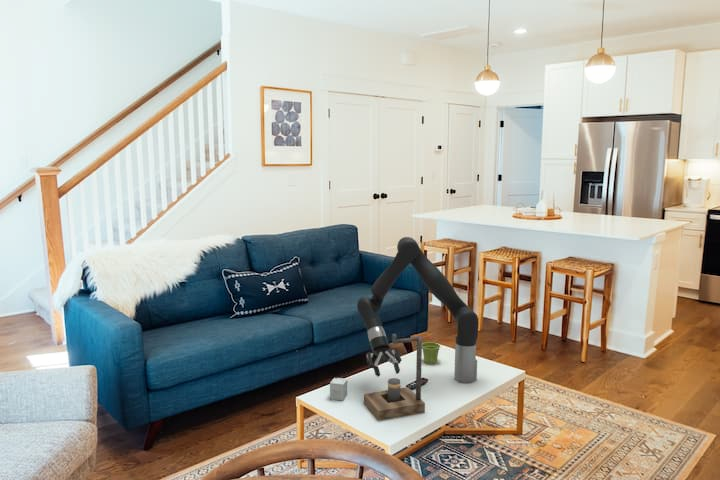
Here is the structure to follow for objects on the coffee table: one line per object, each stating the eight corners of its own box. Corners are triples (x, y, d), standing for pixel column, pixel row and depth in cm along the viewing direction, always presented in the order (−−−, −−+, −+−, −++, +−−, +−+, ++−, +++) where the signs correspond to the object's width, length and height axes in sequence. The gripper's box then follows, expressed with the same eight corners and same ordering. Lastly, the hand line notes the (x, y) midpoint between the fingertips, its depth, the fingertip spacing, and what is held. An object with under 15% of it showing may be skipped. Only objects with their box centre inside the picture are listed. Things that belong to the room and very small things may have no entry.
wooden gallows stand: (407, 395, 234) (408, 322, 229) (424, 412, 220) (426, 334, 214) (363, 403, 227) (364, 327, 222) (378, 420, 213) (379, 340, 208)
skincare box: (343, 401, 229) (343, 384, 228) (329, 399, 231) (329, 382, 230) (347, 395, 235) (347, 378, 234) (334, 393, 237) (334, 377, 236)
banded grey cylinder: (397, 402, 228) (397, 377, 226) (402, 407, 223) (402, 382, 222) (385, 404, 226) (385, 379, 225) (390, 409, 222) (390, 384, 220)
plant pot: (435, 367, 266) (435, 350, 265) (417, 363, 271) (417, 346, 270) (443, 361, 274) (443, 344, 272) (426, 357, 279) (426, 340, 277)
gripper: (364, 337, 231) (375, 373, 222) (395, 333, 236) (406, 368, 227) (360, 345, 236) (370, 380, 228) (390, 341, 241) (401, 375, 233)
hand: (388, 374), depth 227 cm, fingers open, 8 cm apart
